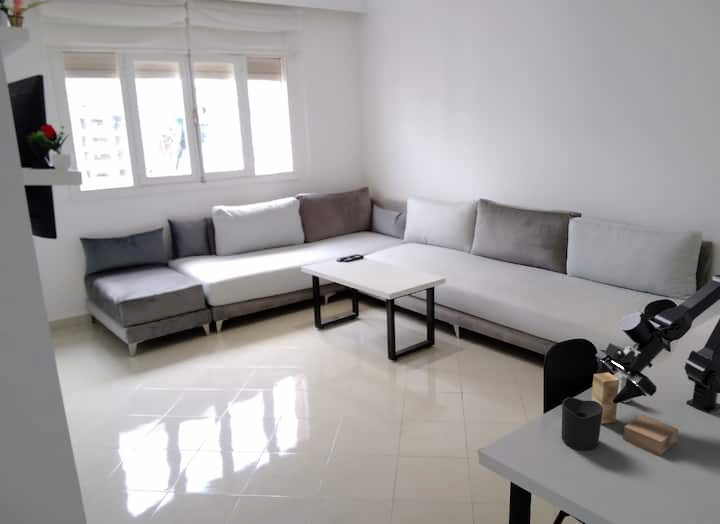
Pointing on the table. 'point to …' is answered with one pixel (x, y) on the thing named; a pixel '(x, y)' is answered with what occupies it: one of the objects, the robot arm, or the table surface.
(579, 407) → the pen holder
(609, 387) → the oak pillar
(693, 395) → the robot arm
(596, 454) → the table surface
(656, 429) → the light brown block
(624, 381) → the rook chess piece
